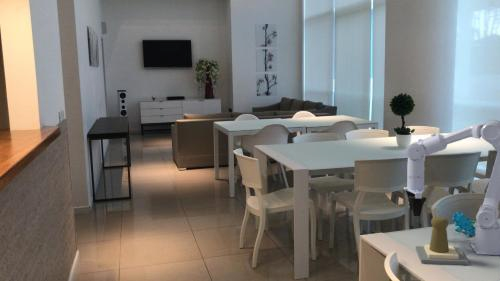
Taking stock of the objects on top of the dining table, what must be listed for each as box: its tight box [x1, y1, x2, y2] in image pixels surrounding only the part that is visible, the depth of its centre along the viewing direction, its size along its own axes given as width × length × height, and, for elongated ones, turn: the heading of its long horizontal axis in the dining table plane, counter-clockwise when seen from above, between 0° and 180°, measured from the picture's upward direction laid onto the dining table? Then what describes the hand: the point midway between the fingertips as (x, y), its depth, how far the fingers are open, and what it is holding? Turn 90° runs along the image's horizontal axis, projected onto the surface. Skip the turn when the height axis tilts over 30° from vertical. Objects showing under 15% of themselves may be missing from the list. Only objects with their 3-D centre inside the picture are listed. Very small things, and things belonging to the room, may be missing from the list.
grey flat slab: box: [415, 244, 469, 266], centre depth 157 cm, size 14×12×2 cm
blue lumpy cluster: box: [452, 211, 477, 237], centre depth 179 cm, size 11×6×10 cm
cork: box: [429, 216, 449, 253], centre depth 156 cm, size 6×6×11 cm
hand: (415, 212), depth 171 cm, fingers open, 7 cm apart
